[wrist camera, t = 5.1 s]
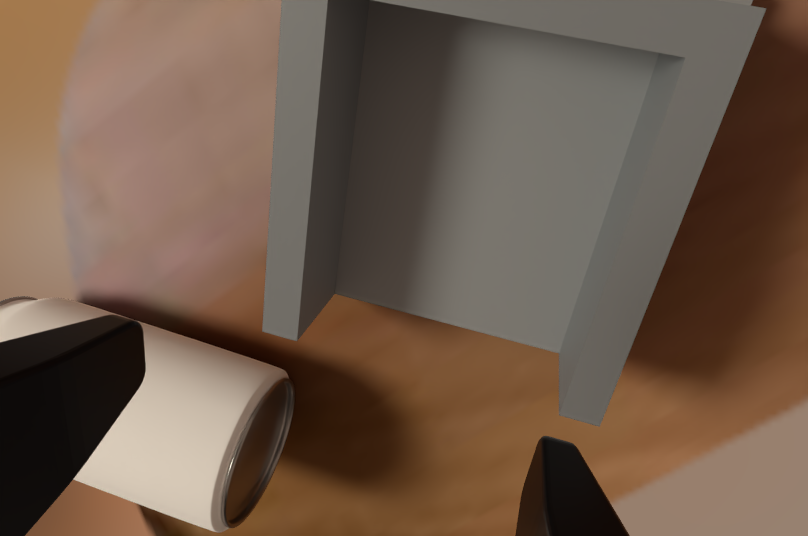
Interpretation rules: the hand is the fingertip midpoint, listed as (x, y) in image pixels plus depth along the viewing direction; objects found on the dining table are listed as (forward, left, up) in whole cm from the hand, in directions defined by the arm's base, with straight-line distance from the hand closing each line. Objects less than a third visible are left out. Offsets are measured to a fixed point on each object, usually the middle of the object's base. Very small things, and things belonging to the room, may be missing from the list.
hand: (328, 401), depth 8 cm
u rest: (0, 0, -13) cm, 13 cm away
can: (-12, +5, -10) cm, 16 cm away
